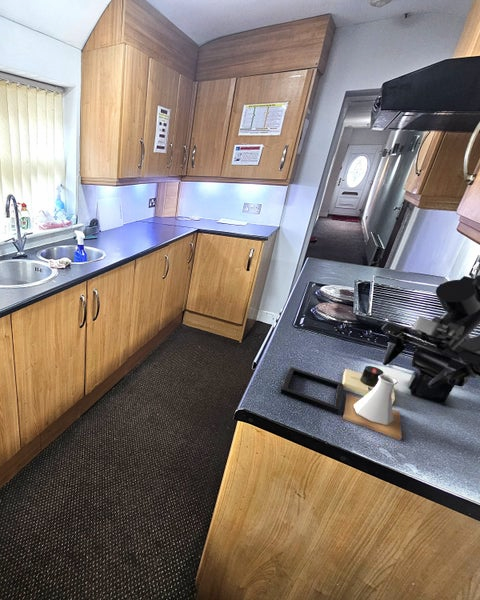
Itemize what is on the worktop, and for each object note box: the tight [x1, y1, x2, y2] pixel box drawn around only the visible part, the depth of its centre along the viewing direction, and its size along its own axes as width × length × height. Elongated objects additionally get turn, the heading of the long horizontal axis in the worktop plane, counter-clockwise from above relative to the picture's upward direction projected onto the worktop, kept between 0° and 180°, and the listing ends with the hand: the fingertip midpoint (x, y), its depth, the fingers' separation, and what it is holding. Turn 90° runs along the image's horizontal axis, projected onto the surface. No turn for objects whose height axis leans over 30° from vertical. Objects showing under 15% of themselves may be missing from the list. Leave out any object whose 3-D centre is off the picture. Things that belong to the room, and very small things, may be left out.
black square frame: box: [280, 366, 344, 415], centre depth 85 cm, size 12×12×2 cm
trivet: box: [342, 393, 403, 441], centre depth 76 cm, size 10×10×1 cm
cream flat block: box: [341, 368, 396, 405], centre depth 85 cm, size 10×8×2 cm
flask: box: [353, 373, 399, 425], centre depth 74 cm, size 7×7×10 cm
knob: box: [360, 365, 384, 387], centre depth 84 cm, size 4×4×4 cm
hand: (405, 374), depth 76 cm, fingers open, 9 cm apart
